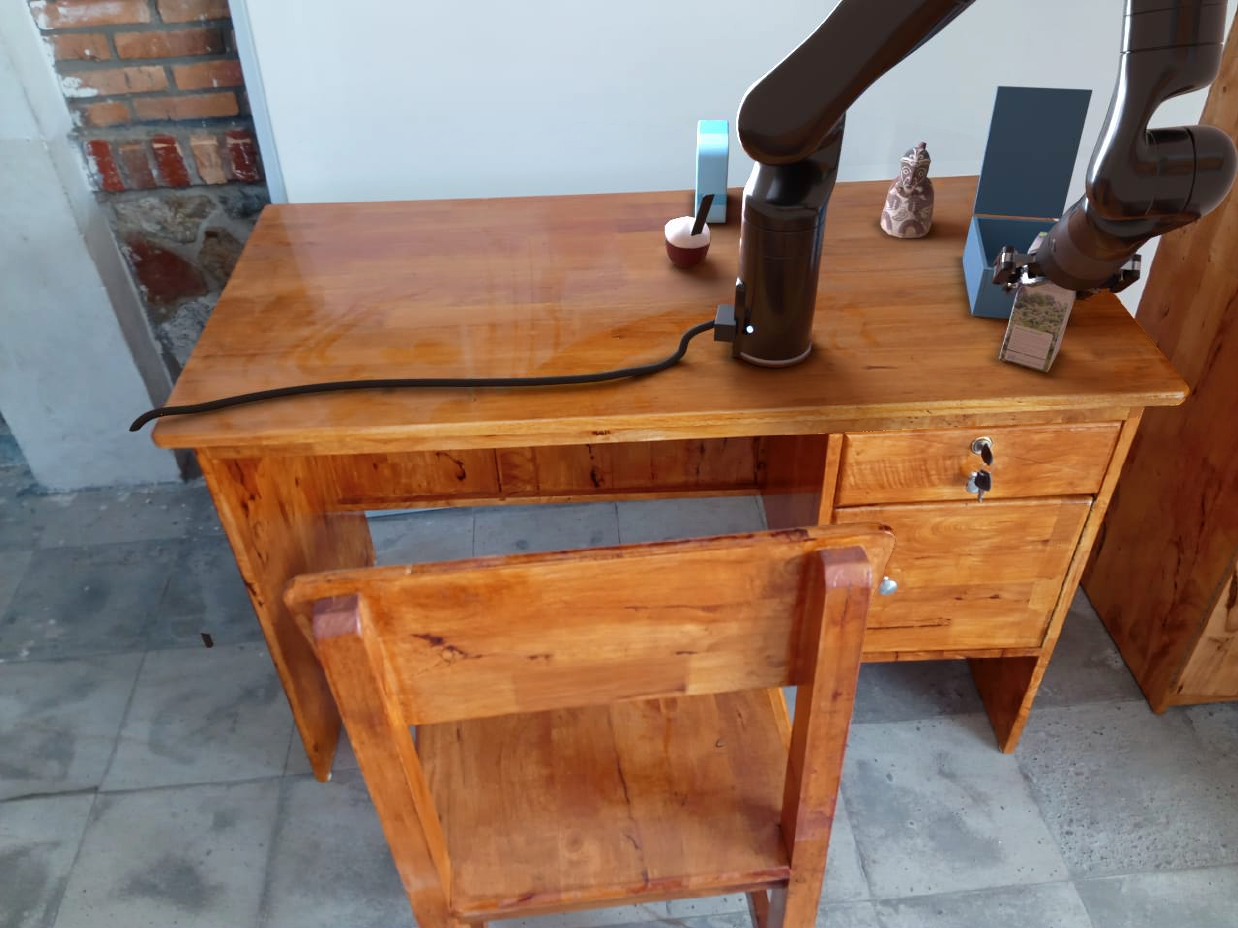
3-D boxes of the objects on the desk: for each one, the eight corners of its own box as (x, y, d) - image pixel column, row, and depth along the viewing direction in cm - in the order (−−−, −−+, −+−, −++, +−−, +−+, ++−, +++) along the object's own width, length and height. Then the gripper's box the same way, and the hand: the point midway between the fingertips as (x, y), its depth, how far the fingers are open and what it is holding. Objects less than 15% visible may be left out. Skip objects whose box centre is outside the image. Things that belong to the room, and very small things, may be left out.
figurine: (872, 230, 140) (884, 150, 132) (891, 213, 144) (904, 134, 137) (919, 242, 137) (935, 160, 129) (937, 224, 141) (953, 144, 134)
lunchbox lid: (1092, 90, 118) (1091, 89, 118) (998, 86, 120) (997, 85, 120) (1061, 219, 126) (1060, 218, 126) (973, 214, 128) (972, 212, 128)
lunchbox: (1065, 323, 119) (1080, 275, 115) (971, 316, 121) (983, 269, 117) (1047, 266, 130) (1060, 221, 126) (962, 260, 132) (972, 215, 128)
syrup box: (1059, 351, 114) (1095, 239, 105) (1047, 375, 110) (1082, 261, 101) (1010, 338, 117) (1041, 228, 107) (997, 361, 113) (1027, 248, 104)
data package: (725, 226, 142) (729, 147, 134) (694, 226, 142) (697, 147, 135) (724, 193, 151) (728, 117, 144) (696, 193, 152) (698, 117, 144)
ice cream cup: (662, 248, 137) (663, 167, 129) (706, 247, 137) (709, 166, 129) (668, 280, 130) (668, 197, 122) (714, 279, 130) (717, 195, 122)
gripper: (1173, 209, 92) (1113, 262, 109) (1017, 200, 95) (981, 253, 111) (1168, 284, 92) (1108, 326, 108) (1011, 273, 94) (975, 316, 110)
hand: (1043, 289), depth 109 cm, fingers closed on syrup box, 7 cm apart
